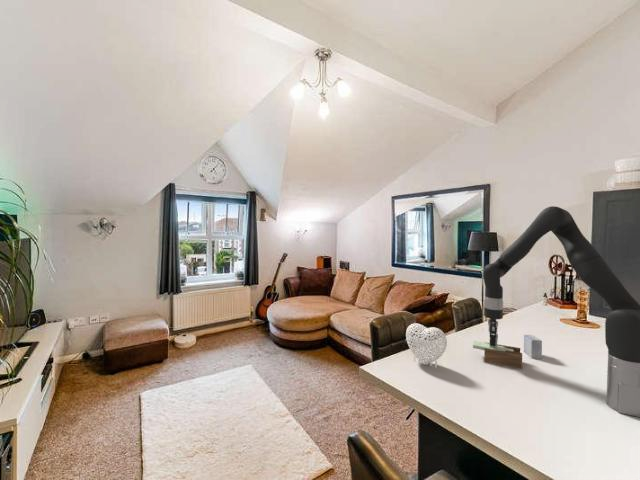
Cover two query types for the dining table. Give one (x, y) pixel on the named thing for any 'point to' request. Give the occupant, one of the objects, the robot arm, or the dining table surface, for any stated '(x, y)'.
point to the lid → (485, 345)
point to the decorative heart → (426, 343)
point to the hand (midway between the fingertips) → (492, 344)
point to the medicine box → (533, 346)
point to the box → (504, 357)
